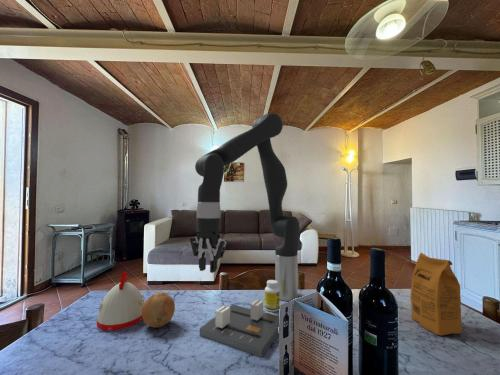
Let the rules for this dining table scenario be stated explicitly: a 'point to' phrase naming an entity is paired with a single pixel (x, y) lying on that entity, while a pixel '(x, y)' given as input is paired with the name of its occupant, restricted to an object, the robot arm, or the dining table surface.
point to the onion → (158, 310)
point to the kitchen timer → (120, 306)
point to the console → (244, 331)
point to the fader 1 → (222, 316)
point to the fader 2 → (256, 309)
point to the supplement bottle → (272, 296)
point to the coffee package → (436, 296)
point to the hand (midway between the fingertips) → (207, 270)
